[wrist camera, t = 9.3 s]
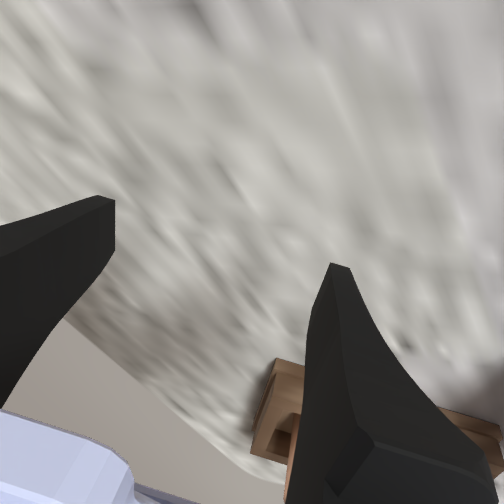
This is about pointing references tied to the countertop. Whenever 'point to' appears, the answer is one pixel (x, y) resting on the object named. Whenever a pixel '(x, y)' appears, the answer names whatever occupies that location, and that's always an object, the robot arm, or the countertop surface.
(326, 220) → the countertop surface
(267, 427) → the rack
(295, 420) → the clay rod
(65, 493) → the robot arm
